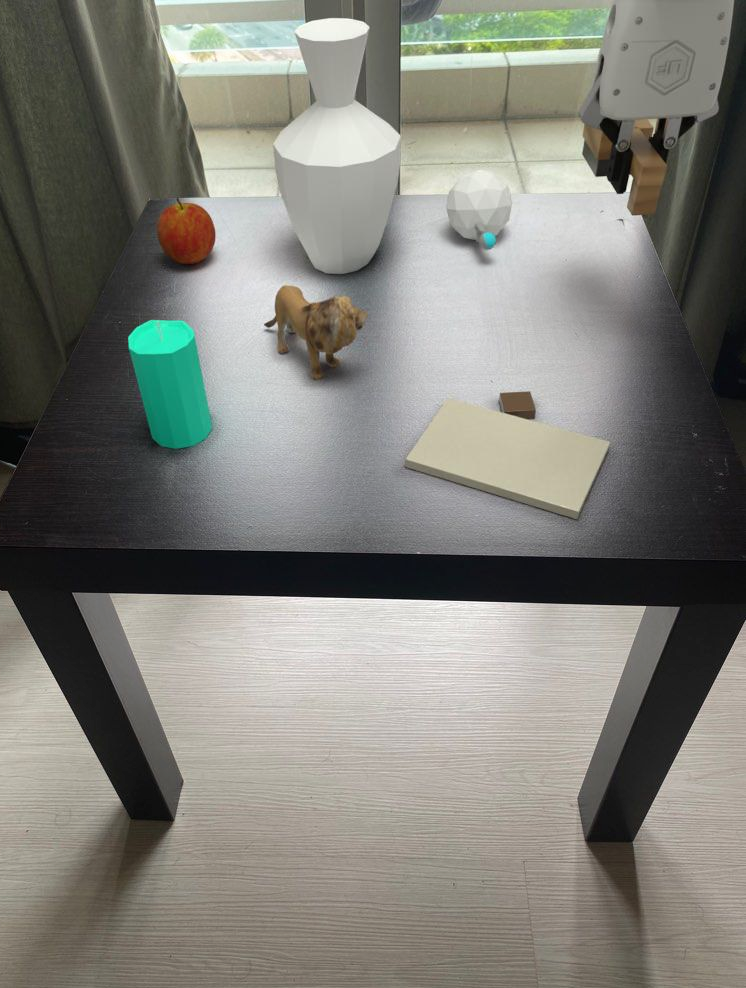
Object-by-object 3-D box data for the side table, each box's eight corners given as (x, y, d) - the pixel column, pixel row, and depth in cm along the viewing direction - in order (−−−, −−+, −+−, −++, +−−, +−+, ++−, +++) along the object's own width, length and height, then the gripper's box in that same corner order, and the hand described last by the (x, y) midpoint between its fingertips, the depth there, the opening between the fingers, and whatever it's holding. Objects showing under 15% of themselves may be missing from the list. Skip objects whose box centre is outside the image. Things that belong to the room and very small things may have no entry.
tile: (608, 450, 78) (610, 441, 77) (577, 519, 72) (579, 511, 71) (447, 405, 83) (447, 397, 82) (404, 467, 77) (405, 458, 76)
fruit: (225, 247, 107) (216, 185, 101) (211, 275, 102) (201, 211, 96) (172, 245, 108) (160, 183, 102) (156, 273, 103) (142, 209, 97)
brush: (670, 214, 79) (683, 164, 76) (617, 217, 79) (627, 167, 76) (626, 150, 89) (636, 104, 85) (579, 153, 89) (586, 107, 85)
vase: (318, 222, 111) (304, 3, 93) (418, 242, 106) (424, 15, 88) (263, 273, 102) (235, 43, 84) (369, 297, 97) (364, 59, 79)
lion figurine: (375, 373, 87) (374, 295, 81) (338, 396, 85) (334, 317, 78) (282, 320, 95) (274, 245, 88) (245, 340, 92) (235, 264, 86)
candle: (206, 449, 80) (184, 340, 71) (144, 448, 80) (115, 340, 72) (217, 409, 84) (197, 302, 75) (158, 409, 85) (131, 302, 76)
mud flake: (534, 418, 81) (536, 410, 80) (503, 419, 81) (504, 411, 80) (529, 399, 83) (530, 391, 83) (498, 400, 83) (499, 392, 83)
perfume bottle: (515, 188, 107) (538, 245, 100) (460, 227, 111) (478, 284, 104) (485, 143, 102) (507, 199, 95) (428, 185, 105) (445, 242, 98)
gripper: (592, -21, 65) (558, 210, 79) (798, -33, 65) (728, 199, 79) (570, -45, 71) (540, 175, 84) (760, -56, 71) (701, 165, 84)
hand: (632, 185), depth 81 cm, fingers closed on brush
